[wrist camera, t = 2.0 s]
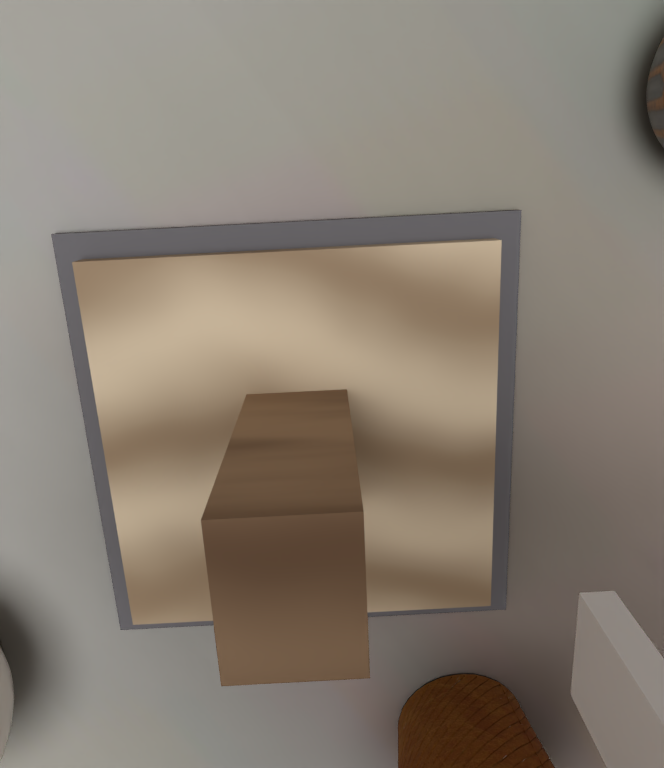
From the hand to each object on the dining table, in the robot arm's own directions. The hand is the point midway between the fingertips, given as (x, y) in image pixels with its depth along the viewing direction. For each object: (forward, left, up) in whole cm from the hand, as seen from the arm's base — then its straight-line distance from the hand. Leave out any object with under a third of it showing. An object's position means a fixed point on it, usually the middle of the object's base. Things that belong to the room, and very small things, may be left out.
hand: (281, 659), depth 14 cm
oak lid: (0, 0, -13) cm, 13 cm away
